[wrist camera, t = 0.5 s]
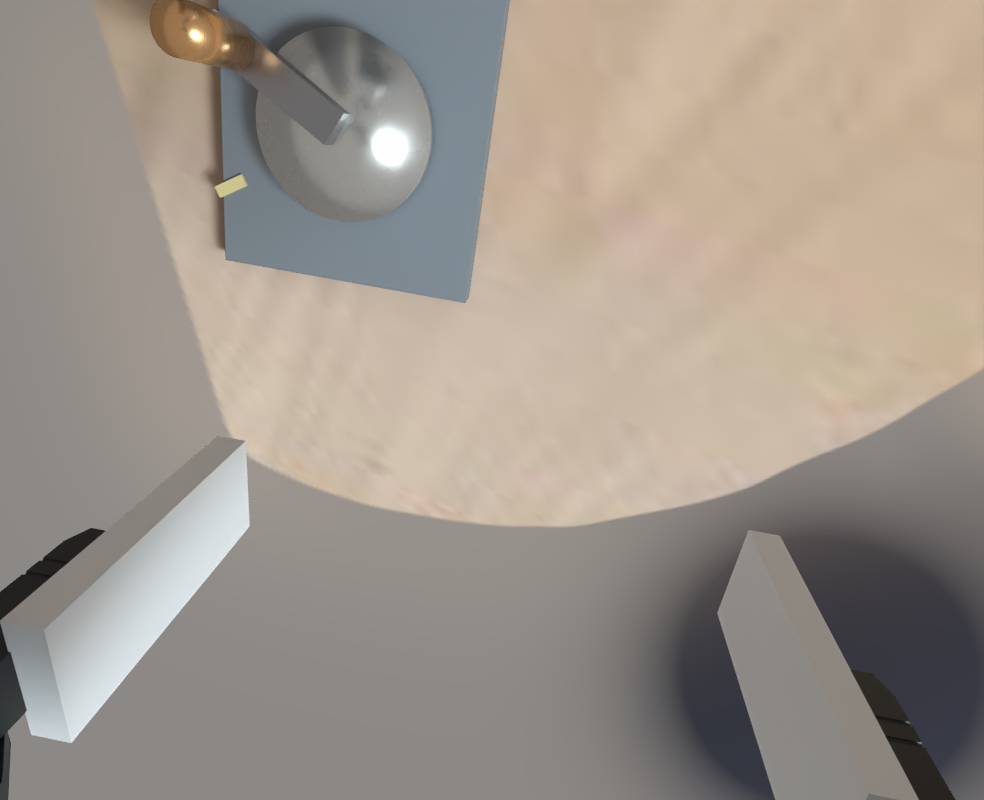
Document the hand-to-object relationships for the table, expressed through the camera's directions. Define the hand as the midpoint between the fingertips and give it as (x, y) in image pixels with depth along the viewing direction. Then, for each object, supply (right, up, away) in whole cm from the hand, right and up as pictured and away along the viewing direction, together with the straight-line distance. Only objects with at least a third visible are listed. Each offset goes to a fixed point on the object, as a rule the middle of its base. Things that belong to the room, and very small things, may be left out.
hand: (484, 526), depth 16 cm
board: (-8, +20, +21) cm, 30 cm away
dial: (-9, +19, +19) cm, 29 cm away
